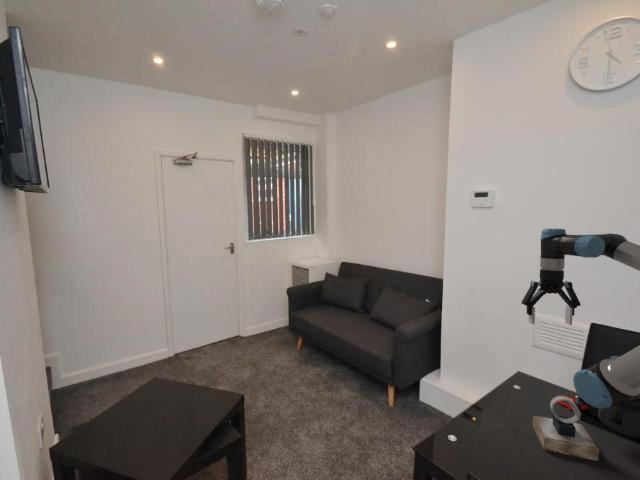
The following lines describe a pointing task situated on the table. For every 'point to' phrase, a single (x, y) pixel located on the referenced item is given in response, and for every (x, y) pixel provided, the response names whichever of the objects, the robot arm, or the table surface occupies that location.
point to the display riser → (565, 439)
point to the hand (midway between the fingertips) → (549, 323)
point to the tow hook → (576, 400)
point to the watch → (565, 423)
